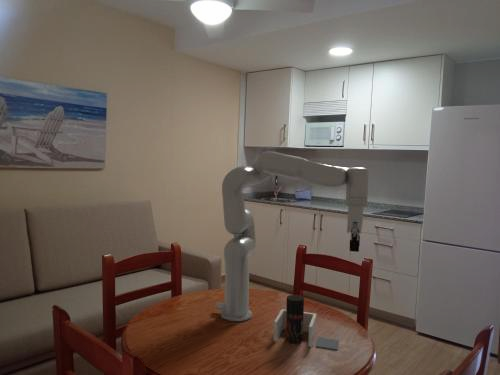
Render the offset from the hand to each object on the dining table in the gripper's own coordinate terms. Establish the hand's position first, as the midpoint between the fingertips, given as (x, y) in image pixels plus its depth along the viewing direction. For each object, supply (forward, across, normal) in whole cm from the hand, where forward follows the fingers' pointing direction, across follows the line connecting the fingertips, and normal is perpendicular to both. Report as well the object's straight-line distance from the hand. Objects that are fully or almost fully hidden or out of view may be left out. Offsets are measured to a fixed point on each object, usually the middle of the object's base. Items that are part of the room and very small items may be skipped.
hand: (354, 248), depth 142 cm
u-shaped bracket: (+31, +12, -19) cm, 38 cm away
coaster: (+31, +13, -7) cm, 35 cm away
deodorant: (+31, +13, -19) cm, 39 cm away
